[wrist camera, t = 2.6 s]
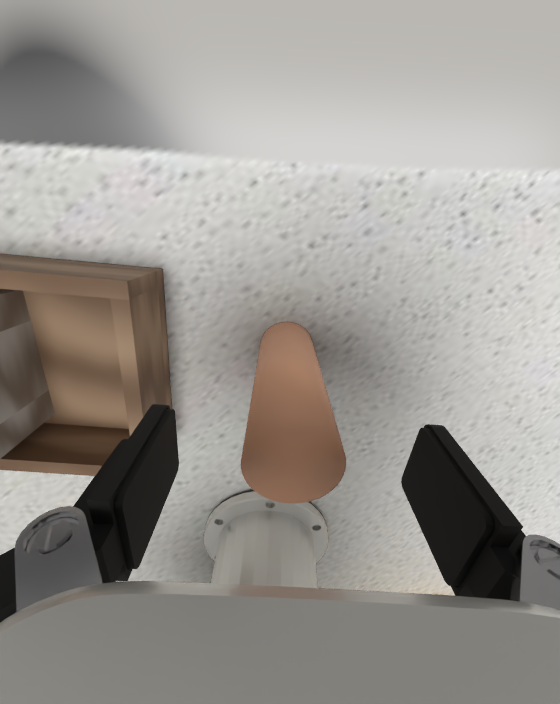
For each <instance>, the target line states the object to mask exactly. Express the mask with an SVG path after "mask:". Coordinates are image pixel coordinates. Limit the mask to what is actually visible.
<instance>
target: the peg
mask: <svg viewBox="0 0 560 704" xmlns="http://www.w3.org/2000/svg"><path fill="white" fill-rule="evenodd" d="M345 468H346V457H345V453H344V449H343V446H342V442H341V439H340V435H339V432H338V429H337V425H336V422H335V418H334V415H333V411H332V408H331V404H330V401H329V397H328V394H327V391H326V387H325V384H324V380H323V377H322V373H321V370H320V366H319V363H318V360H317V356H316V353H315V349H314V346H313V342H312V339H311V336H310V335H309V333H308V332H307V331H306V329H304V328H303V327H302V326H300V325H298V324H296V323H292V322H281V323H278V324H275V325H273V326H271V327H270V328H269V329H268V330H267V331H266V332H265V333H264V335H263V337H262V339H261V343H260V349H259V355H258V361H257V367H256V373H255V380H254V386H253V392H252V398H251V404H250V410H249V416H248V422H247V428H246V434H245V440H244V446H243V452H242V459H241V469H242V474H243V476H244V479H245V480H246V482H247V483H248V485H249V486H250V487H251V488H252V489H253V490H254V491H255V492H257V493H258V494H259V495H261V496H263V497H265V498H267V499H270V500H273V501H276V502H281V503H292V504H295V503H304V502H309V501H313V500H315V499H318V498H320V497H322V496H324V495H326V494H327V493H329V492H330V491H331V490H333V489H334V488H335V487H336V486H337V485H338V483H339V482H340V481H341V479H342V477H343V475H344V472H345Z"/></svg>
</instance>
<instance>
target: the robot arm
mask: <svg viewBox="0 0 560 704" xmlns="http://www.w3.org/2000/svg"><path fill="white" fill-rule="evenodd" d="M178 467H179V459H178V446H177V433H176V420H175V411H174V409H170V406H169V405H161V404H152V405H151V407H150V408H149V409H148V411H147V412H146V414H145V415H144V417H143V418H142V420H141V421H140V423H139V424H138V425H137V427H136V428H135V430H134V431H133V433H132V434H131V436H130V437H129V439H123V440H121V441H120V442H119V443H118V445H117V446H116V448H115V449H114V450H113V452H112V453H111V455H110V456H109V457H108V459H107V460H106V462H105V463H104V464H103V466H102V467H101V469H100V470H99V471H98V473H97V474H96V476H95V477H94V478H93V480H92V481H91V482H90V484H89V485H88V487H87V488H86V489H85V491H84V492H83V494H82V495H81V496H80V498H79V499H78V501H77V502H76V503H75V505H74V506H73V507H71V506H66V507H59V508H56V509H53V510H50V511H48V512H46V513H44V514H42V515H40V516H39V517H37V518H36V519H35V520H33V521H32V522H31V523H29V524H28V526H27V527H26V528H25V529H24V530H23V531H22V532H21V534H20V535H19V537H18V539H17V541H16V545H15V548H13V549H11V550H9V551H7V552H6V553H4V554H2V555H0V704H560V544H558V543H557V542H555V541H553V540H551V539H548V538H546V537H544V536H540V535H528V536H525V534H524V533H523V532H522V531H521V529H522V528H523V526H522V525H521V524H520V522H519V521H518V520H517V518H516V517H515V516H514V515H513V513H512V512H511V511H510V510H509V508H508V507H507V506H506V504H505V503H504V502H503V501H502V499H501V498H500V497H499V496H498V494H497V493H496V492H495V490H494V489H493V488H492V487H491V485H490V484H489V483H488V482H487V480H486V479H485V478H484V476H483V475H482V474H481V473H480V471H479V470H478V469H477V468H476V466H475V465H474V464H473V462H472V461H471V460H470V459H469V457H468V456H467V455H466V454H465V452H464V451H463V450H462V448H461V447H460V446H459V445H458V443H457V442H456V441H455V440H454V438H453V437H452V436H451V434H450V433H449V432H448V431H447V429H446V428H445V427H444V426H442V425H429V424H428V425H425V426H424V428H421V429H420V430H419V433H418V436H417V438H416V441H415V444H414V446H413V449H412V452H411V454H410V457H409V460H408V462H407V465H406V468H405V470H404V473H403V476H402V481H401V482H402V487H403V490H404V492H405V494H406V496H407V499H408V501H409V503H410V505H411V508H412V510H413V512H414V514H415V516H416V519H417V521H418V523H419V525H420V527H421V530H422V532H423V534H424V536H425V538H426V541H427V543H428V545H429V547H430V549H431V552H432V554H433V556H434V558H435V560H436V563H437V565H438V567H439V569H440V572H441V574H442V576H443V578H444V580H445V582H446V583H447V584H448V585H449V586H451V587H452V589H453V591H454V594H455V596H449V595H432V594H414V593H397V592H380V591H361V590H342V589H323V588H318V581H317V572H316V563H318V562H319V561H320V559H321V558H322V557H323V555H324V554H325V551H326V549H327V546H328V532H327V526H326V523H325V520H324V518H323V517H322V515H321V514H320V512H319V511H318V510H317V509H316V508H315V507H314V506H313V505H312V504H310V503H308V502H304V503H295V504H292V503H281V502H276V501H273V500H270V499H267V498H265V497H263V496H261V495H259V494H258V493H257V492H255V491H252V492H247V493H243V494H240V495H237V496H234V497H231V498H230V499H228V500H226V501H224V502H223V503H221V504H220V505H219V506H218V507H216V508H215V509H214V511H213V512H212V513H211V515H210V516H209V518H208V521H207V523H206V527H205V532H204V545H205V548H206V551H207V552H208V554H209V556H210V557H211V558H212V560H213V561H214V562H215V563H214V568H213V573H212V578H211V583H197V582H160V581H130V582H115V581H128V578H129V576H130V574H131V571H132V569H137V568H138V567H139V565H140V563H141V561H142V558H143V556H144V553H145V551H146V548H147V546H148V543H149V541H150V539H151V536H152V534H153V531H154V529H155V526H156V524H157V521H158V519H159V516H160V514H161V511H162V509H163V506H164V504H165V501H166V499H167V496H168V494H169V492H170V489H171V487H172V484H173V482H174V479H175V477H176V474H177V471H178Z"/></svg>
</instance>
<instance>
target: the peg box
mask: <svg viewBox="0 0 560 704" xmlns="http://www.w3.org/2000/svg"><path fill="white" fill-rule="evenodd" d="M152 404H161V405H169V406H170V409H172V402H171V387H170V372H169V357H168V342H167V327H166V312H165V297H164V283H163V269H160V268H149V267H138V266H127V265H116V264H105V263H95V262H84V261H73V260H62V259H51V258H40V257H29V256H19V255H8V254H0V470H12V471H27V472H43V473H58V474H74V475H89V476H96V474H97V473H98V471H99V470H100V469H101V467H102V466H103V464H104V463H105V462H106V460H107V459H108V457H109V456H110V455H111V453H112V452H113V450H114V449H115V448H116V446H117V445H118V443H119V442H120V441H121V440H123V439H129V437H130V436H131V434H132V433H133V431H134V430H135V428H136V427H137V425H138V424H139V423H140V421H141V420H142V418H143V417H144V415H145V414H146V412H147V411H148V409H149V408H150V407H151V405H152Z"/></svg>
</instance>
